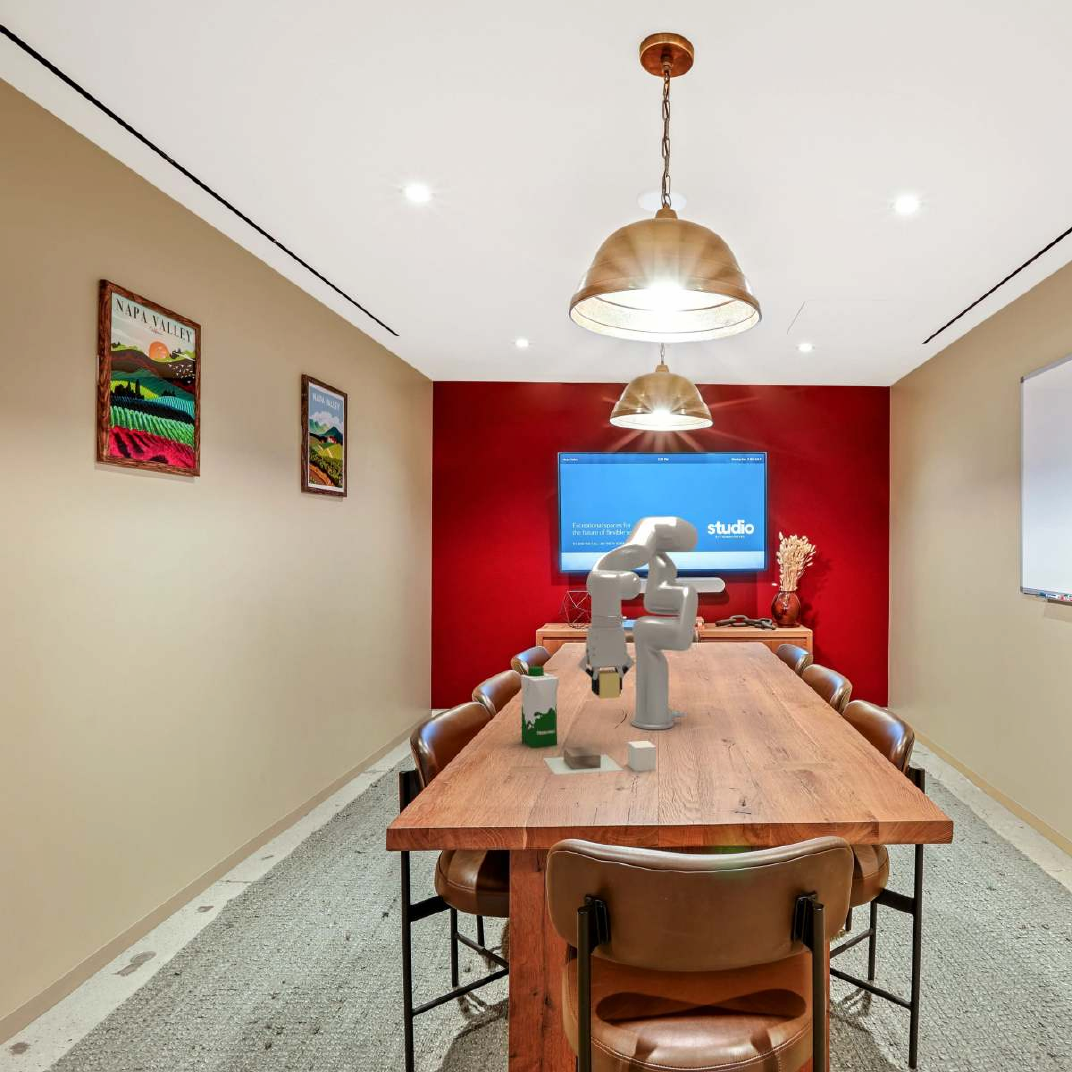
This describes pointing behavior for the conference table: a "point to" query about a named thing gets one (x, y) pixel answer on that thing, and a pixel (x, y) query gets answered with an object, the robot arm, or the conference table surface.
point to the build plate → (562, 768)
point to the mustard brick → (609, 684)
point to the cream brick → (641, 756)
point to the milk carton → (539, 708)
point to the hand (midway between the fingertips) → (606, 692)
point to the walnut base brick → (582, 757)
